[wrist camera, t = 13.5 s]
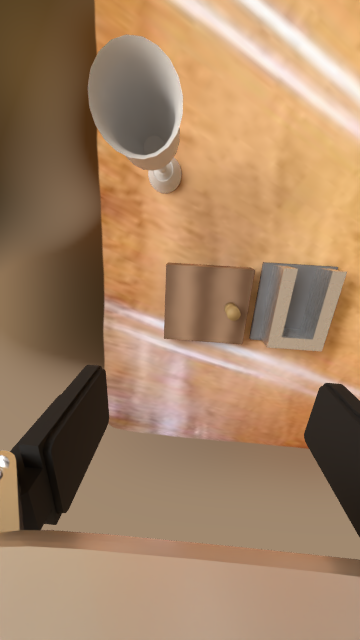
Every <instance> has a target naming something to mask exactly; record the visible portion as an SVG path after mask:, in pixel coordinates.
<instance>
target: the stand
mask: <svg viewBox="0 0 360 640" xmlns="http://www.w3.org/2000/svg"><path fill="white" fill-rule="evenodd" d="M254 272H255V270H254V269H252V268H246V267H230V266H214V265H197V264H181V263H167V264H166V292H165V324H164V339H178V340H191V341H205V342H219V343H233V344H242V343H243V337H244V331H245V325H246V319H247V314H248V308H249V302H250V296H251V290H252V284H253V278H254Z"/></svg>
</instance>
